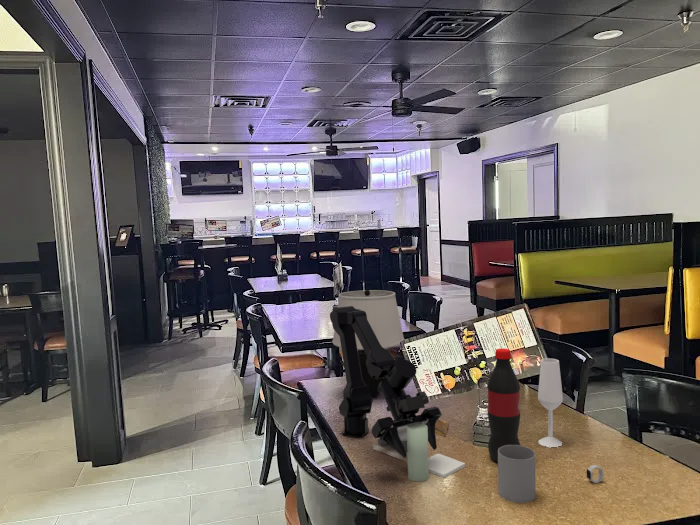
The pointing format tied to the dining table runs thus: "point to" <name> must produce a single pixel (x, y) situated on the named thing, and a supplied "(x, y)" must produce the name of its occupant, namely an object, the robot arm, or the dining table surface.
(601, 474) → the smartwatch
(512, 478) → the cup
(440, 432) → the shard
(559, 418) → the dining table surface
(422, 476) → the roller
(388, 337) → the table lamp
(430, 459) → the pad
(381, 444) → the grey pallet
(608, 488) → the dining table surface
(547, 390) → the champagne flute
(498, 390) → the cola bottle
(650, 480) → the dining table surface
